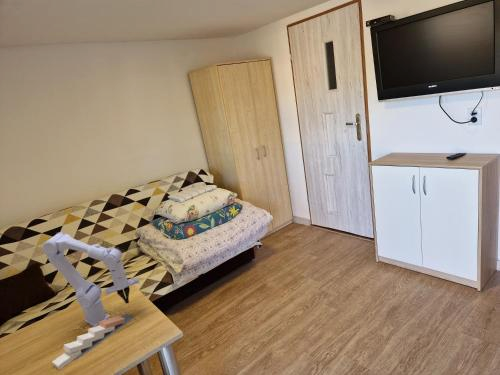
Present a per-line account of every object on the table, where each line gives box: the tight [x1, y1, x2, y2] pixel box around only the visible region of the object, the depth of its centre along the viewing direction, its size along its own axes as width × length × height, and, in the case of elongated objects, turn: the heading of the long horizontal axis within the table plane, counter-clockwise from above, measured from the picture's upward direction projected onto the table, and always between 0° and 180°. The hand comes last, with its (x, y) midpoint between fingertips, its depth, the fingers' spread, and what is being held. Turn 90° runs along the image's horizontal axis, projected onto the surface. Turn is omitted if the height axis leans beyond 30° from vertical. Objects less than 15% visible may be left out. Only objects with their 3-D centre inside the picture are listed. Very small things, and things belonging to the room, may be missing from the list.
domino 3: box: [76, 332, 104, 345], centre depth 142 cm, size 5×2×9 cm
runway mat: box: [75, 312, 136, 360], centre depth 146 cm, size 8×27×1 cm, turn 143°
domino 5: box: [98, 315, 125, 329], centre depth 149 cm, size 5×2×9 cm
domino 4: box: [87, 325, 115, 336], centre depth 146 cm, size 5×2×9 cm
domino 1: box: [62, 340, 92, 353], centre depth 138 cm, size 5×2×9 cm
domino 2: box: [51, 350, 82, 370], centre depth 135 cm, size 5×2×9 cm
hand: (127, 302), depth 155 cm, fingers closed
